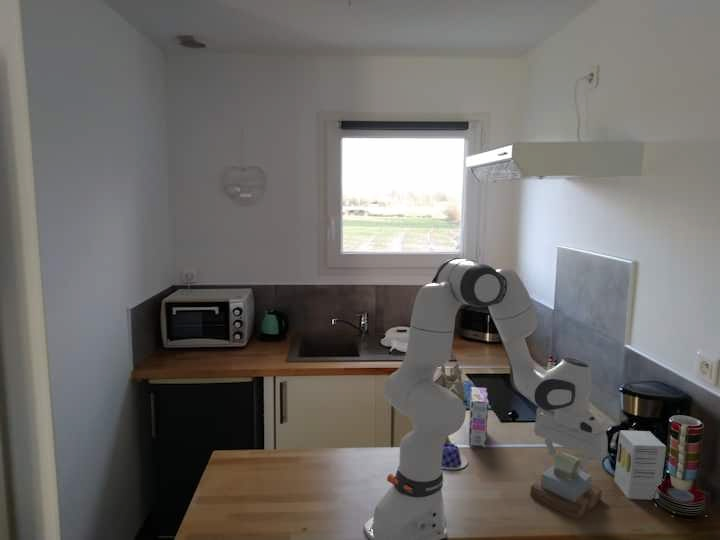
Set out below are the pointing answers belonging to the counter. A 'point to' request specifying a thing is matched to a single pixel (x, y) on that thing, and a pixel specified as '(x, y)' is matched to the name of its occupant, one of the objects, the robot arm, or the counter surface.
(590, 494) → the walnut slab
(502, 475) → the counter surface
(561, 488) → the grey slab
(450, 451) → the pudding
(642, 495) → the supplement box
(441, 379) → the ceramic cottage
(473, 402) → the candy box
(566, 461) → the sage block
